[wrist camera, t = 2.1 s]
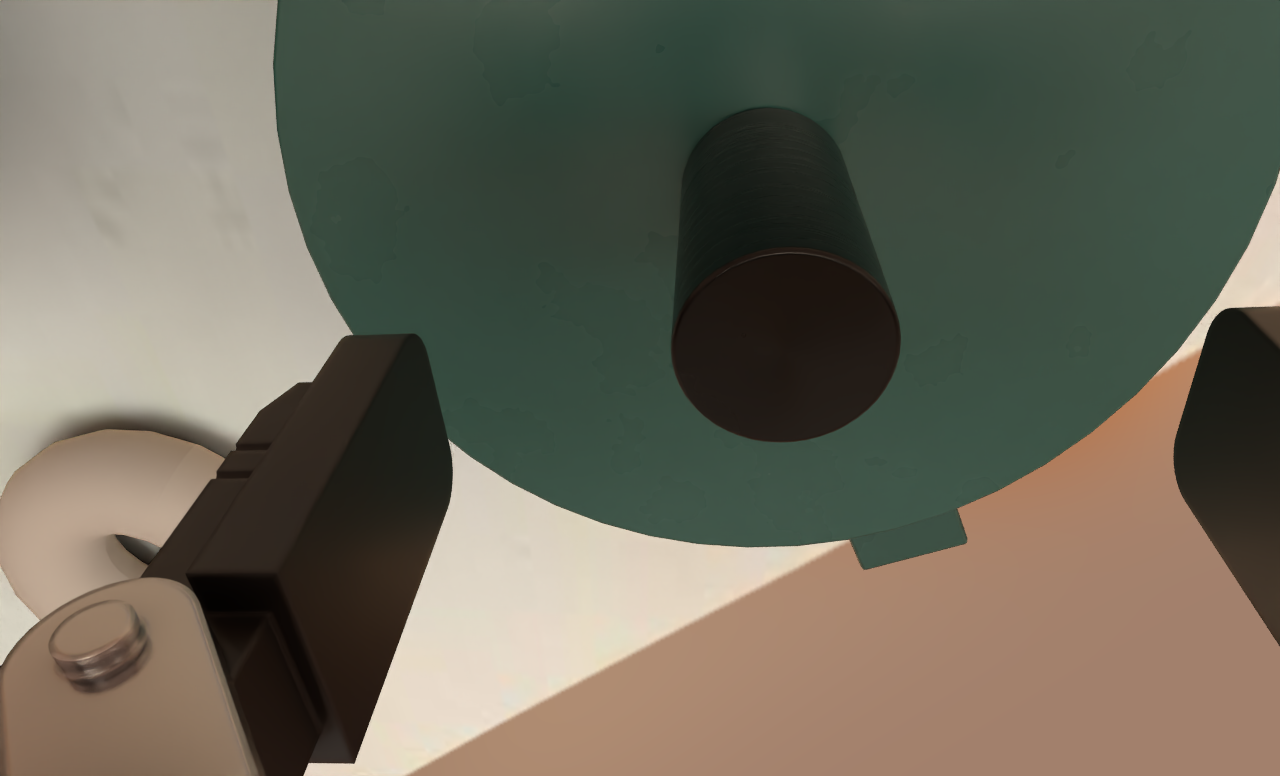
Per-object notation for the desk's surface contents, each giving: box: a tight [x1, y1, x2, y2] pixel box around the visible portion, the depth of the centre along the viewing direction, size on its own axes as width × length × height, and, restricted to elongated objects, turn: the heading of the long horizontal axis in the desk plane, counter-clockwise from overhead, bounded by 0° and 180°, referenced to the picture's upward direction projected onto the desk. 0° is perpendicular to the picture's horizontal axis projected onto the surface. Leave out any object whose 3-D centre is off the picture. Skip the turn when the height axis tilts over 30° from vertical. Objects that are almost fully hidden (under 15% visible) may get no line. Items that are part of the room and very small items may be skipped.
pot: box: [849, 509, 967, 570], centre depth 19 cm, size 15×20×8 cm
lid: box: [273, 0, 1280, 547], centre depth 13 cm, size 16×16×6 cm
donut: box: [0, 429, 225, 620], centre depth 31 cm, size 10×4×10 cm
